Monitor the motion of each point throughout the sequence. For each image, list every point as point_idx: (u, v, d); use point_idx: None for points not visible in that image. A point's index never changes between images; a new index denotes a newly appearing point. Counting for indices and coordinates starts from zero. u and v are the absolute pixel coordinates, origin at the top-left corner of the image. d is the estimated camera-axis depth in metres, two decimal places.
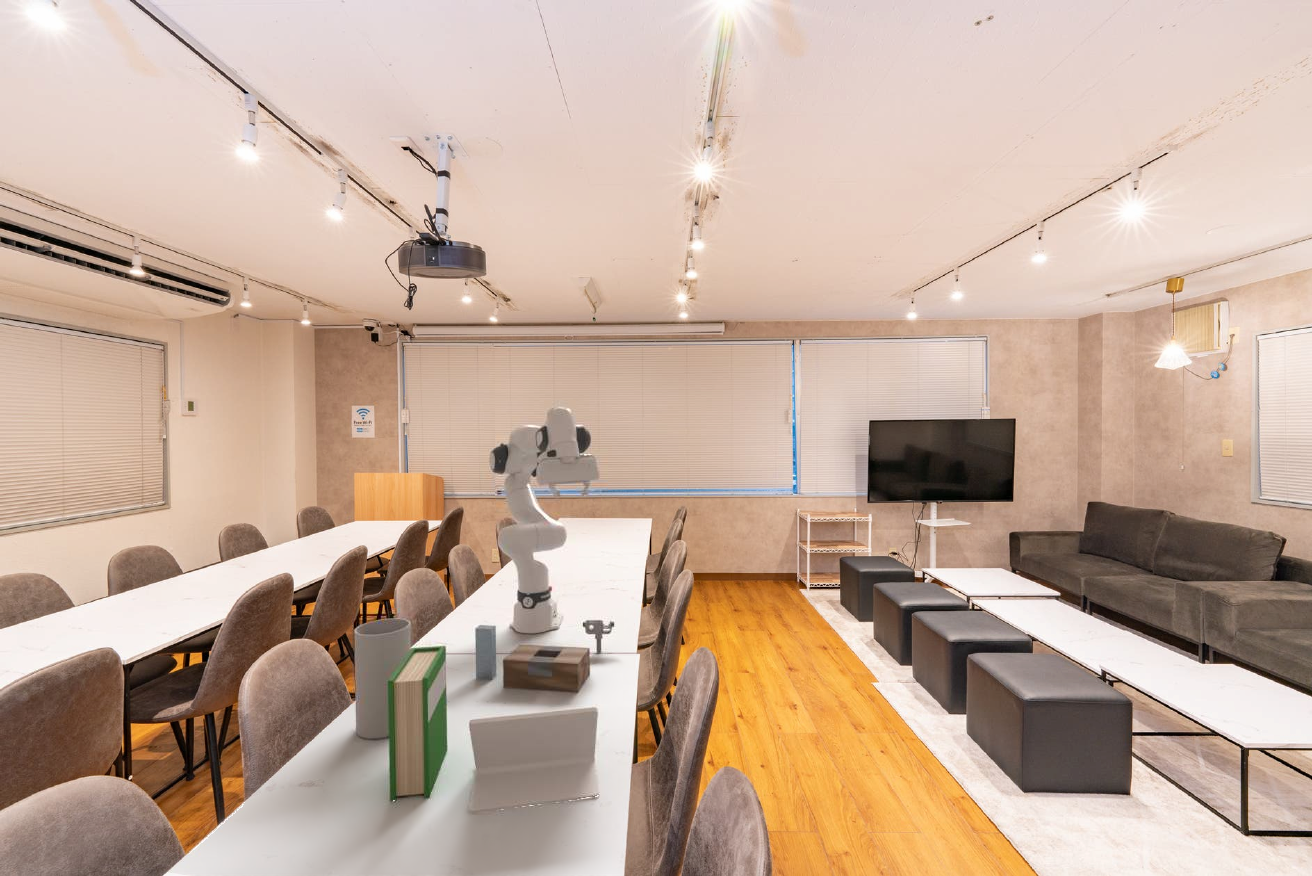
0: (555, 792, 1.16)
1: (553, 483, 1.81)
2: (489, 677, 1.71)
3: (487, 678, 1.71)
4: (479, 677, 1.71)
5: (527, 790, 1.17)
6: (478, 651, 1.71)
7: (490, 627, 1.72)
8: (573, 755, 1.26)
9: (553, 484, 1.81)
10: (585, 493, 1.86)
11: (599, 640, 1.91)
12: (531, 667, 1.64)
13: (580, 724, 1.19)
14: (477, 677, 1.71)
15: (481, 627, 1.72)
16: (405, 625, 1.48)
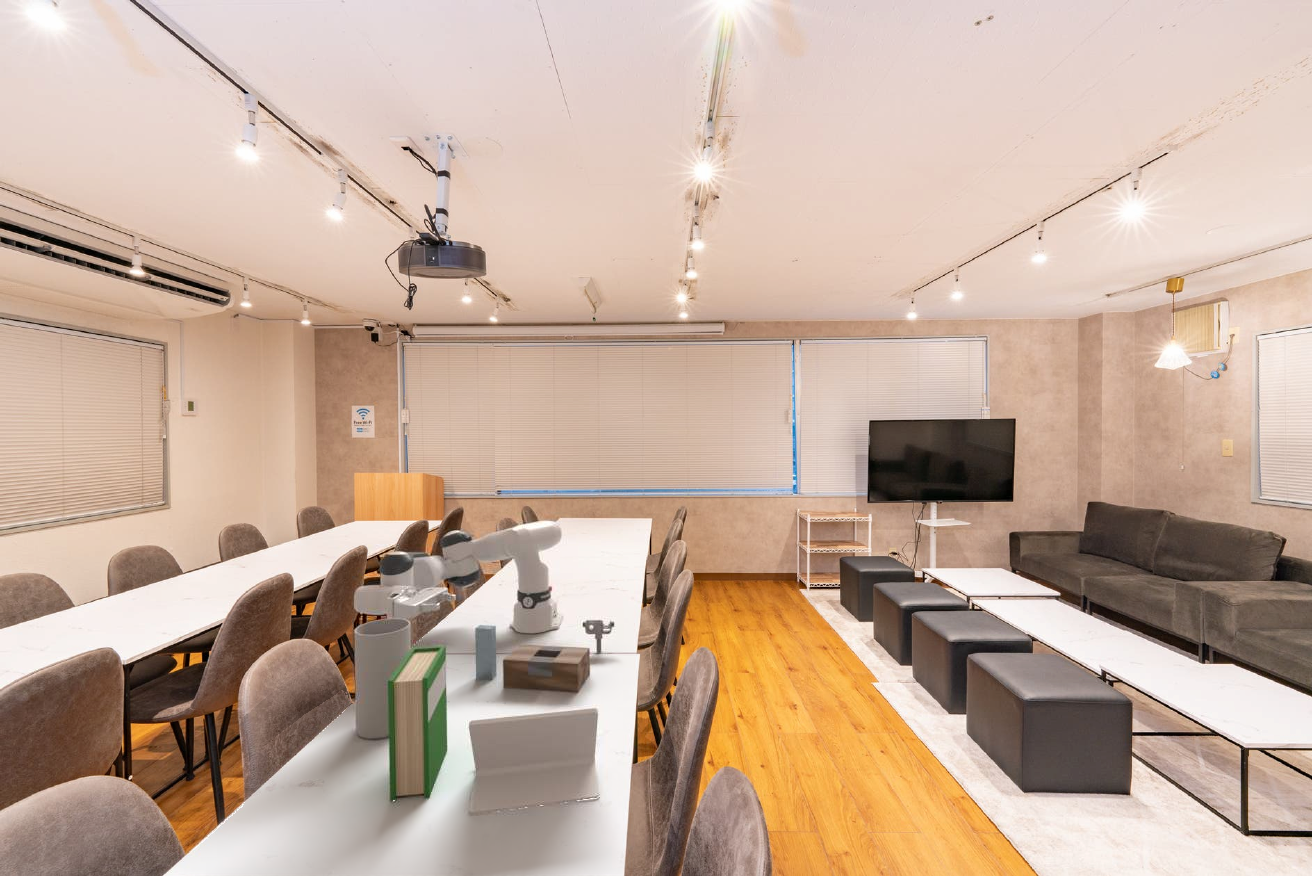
0: (555, 793, 1.16)
1: (422, 604, 1.69)
2: (489, 677, 1.71)
3: (487, 678, 1.71)
4: (479, 677, 1.71)
5: (527, 791, 1.16)
6: (478, 651, 1.71)
7: (490, 627, 1.72)
8: (573, 756, 1.25)
9: (423, 604, 1.69)
10: (452, 595, 1.79)
11: (599, 640, 1.91)
12: (531, 667, 1.64)
13: (580, 725, 1.19)
14: (477, 677, 1.71)
15: (481, 627, 1.72)
16: (405, 625, 1.48)
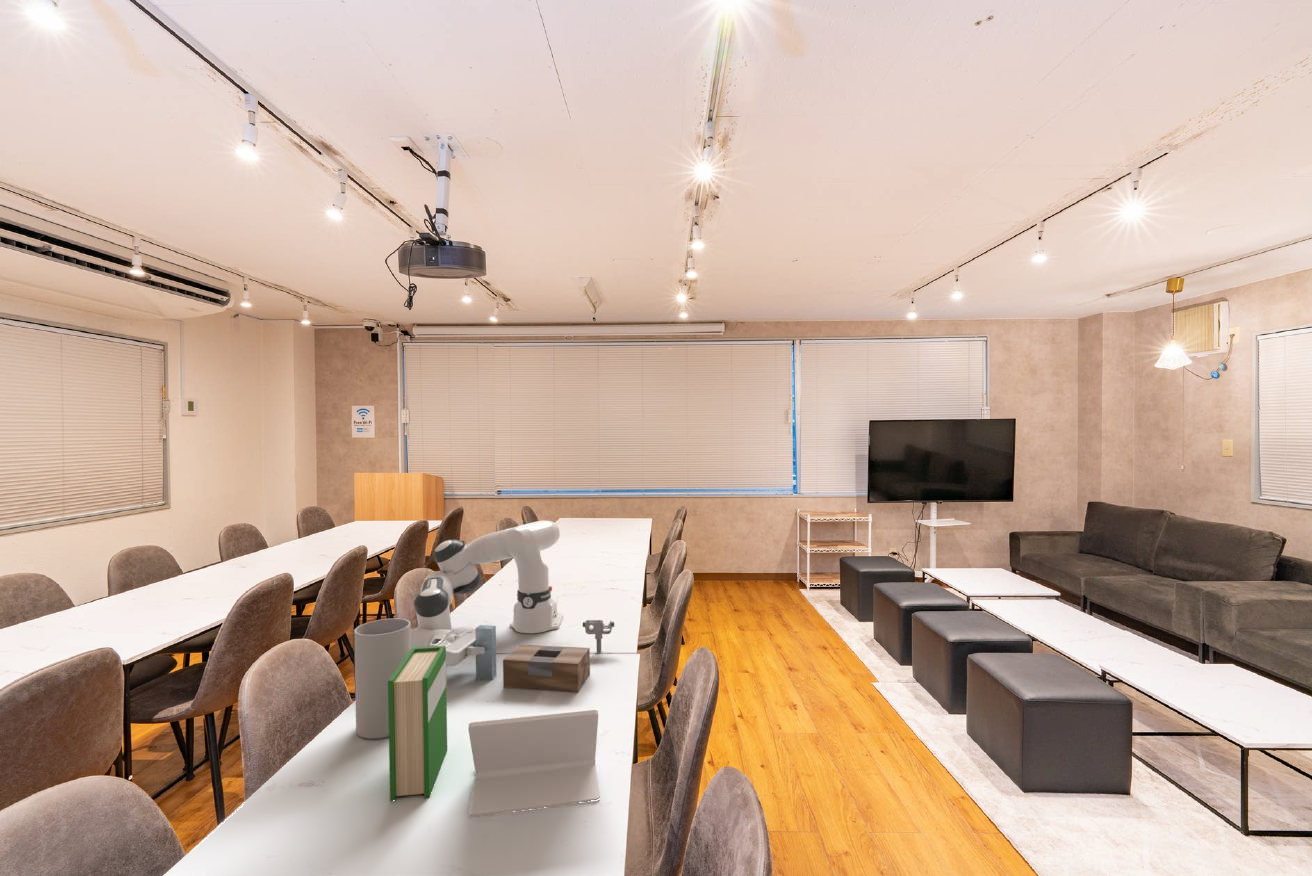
0: (555, 795, 1.15)
1: (469, 646, 1.70)
2: (489, 677, 1.71)
3: (487, 678, 1.71)
4: (479, 677, 1.71)
5: (527, 794, 1.16)
6: None
7: (490, 627, 1.72)
8: (573, 758, 1.25)
9: (470, 647, 1.70)
10: None
11: (599, 640, 1.91)
12: (531, 667, 1.64)
13: (580, 727, 1.18)
14: (477, 677, 1.71)
15: (481, 627, 1.72)
16: (405, 625, 1.48)
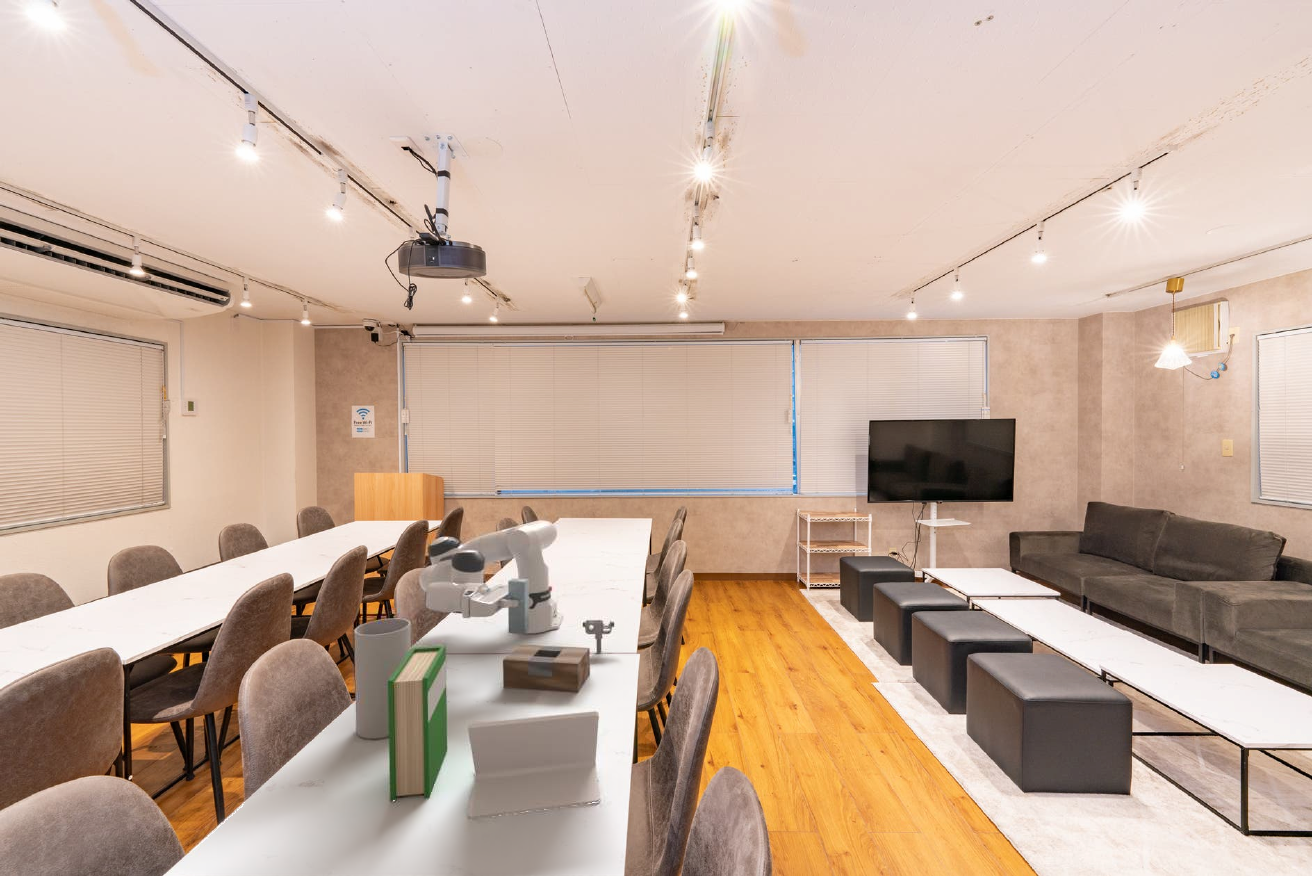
0: (555, 797, 1.15)
1: (502, 599, 1.67)
2: (522, 631, 1.68)
3: (520, 632, 1.68)
4: (512, 631, 1.68)
5: (527, 795, 1.15)
6: None
7: (523, 580, 1.69)
8: (574, 760, 1.24)
9: (503, 599, 1.66)
10: None
11: (599, 640, 1.91)
12: (531, 667, 1.64)
13: (581, 728, 1.17)
14: (509, 631, 1.68)
15: (514, 580, 1.69)
16: (405, 625, 1.48)
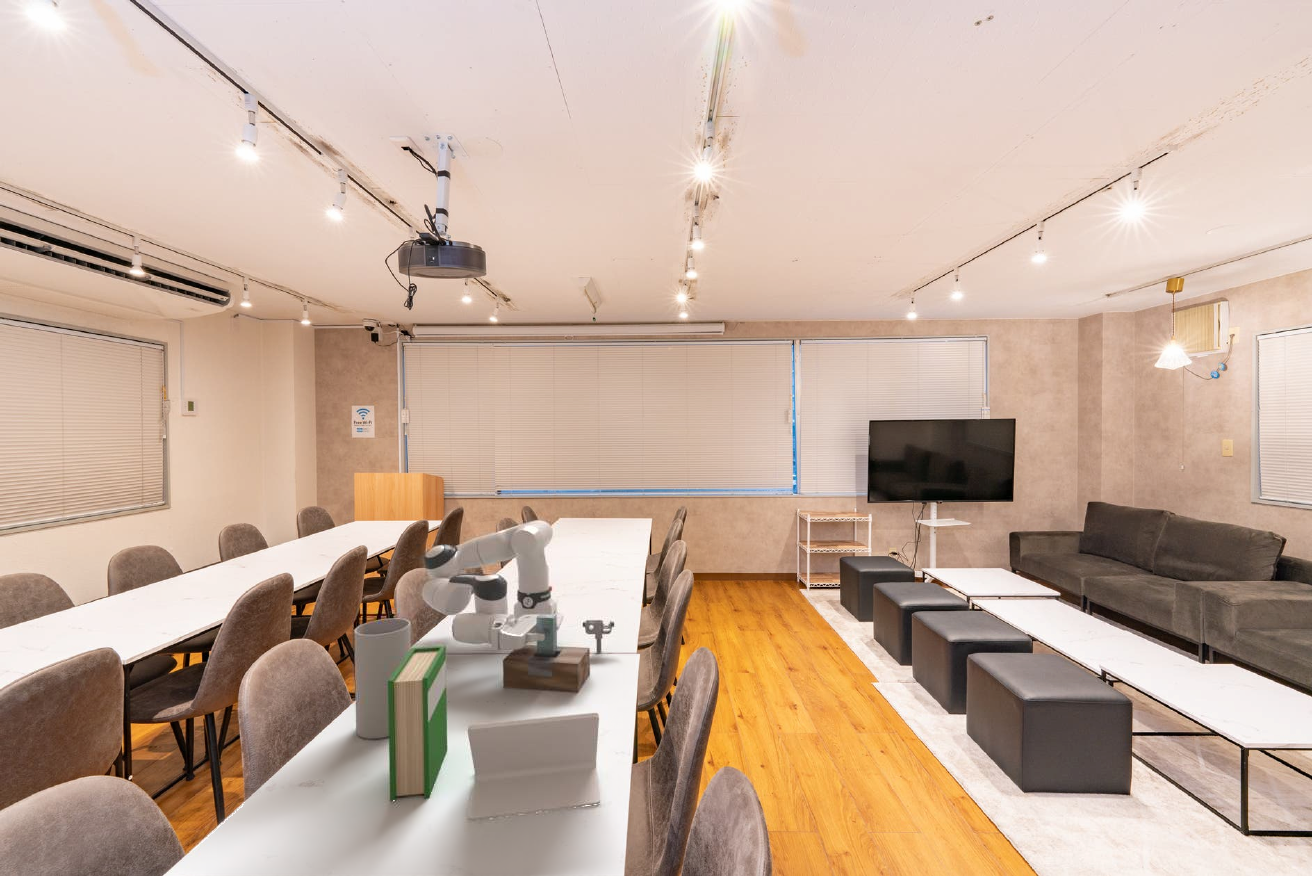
0: (556, 799, 1.14)
1: (528, 633, 1.65)
2: None
3: None
4: None
5: (527, 797, 1.15)
6: None
7: (551, 616, 1.69)
8: (574, 761, 1.24)
9: (529, 633, 1.65)
10: None
11: (599, 640, 1.91)
12: (531, 667, 1.64)
13: (581, 730, 1.17)
14: None
15: (542, 616, 1.69)
16: (405, 625, 1.48)
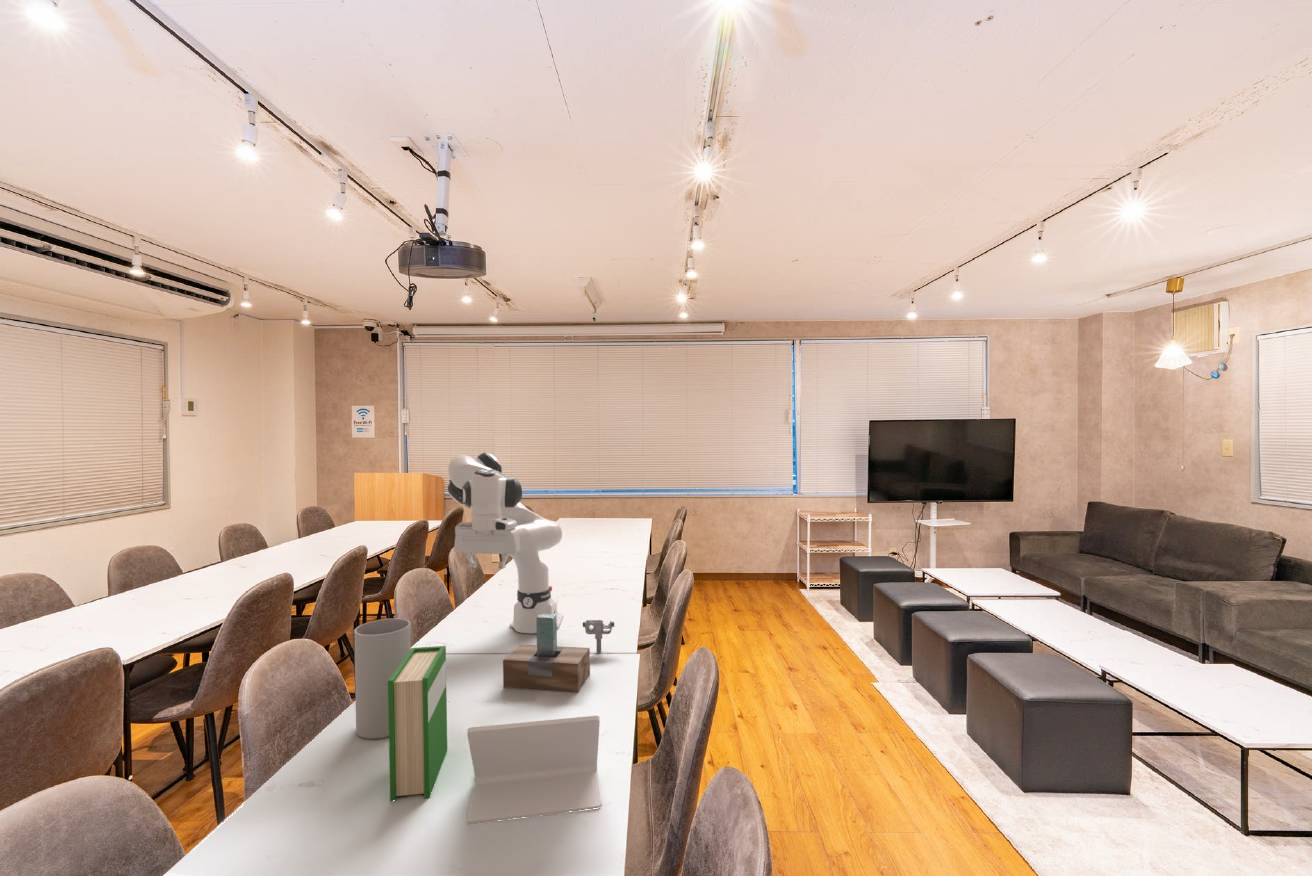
0: (556, 802, 1.13)
1: None
2: None
3: None
4: None
5: (527, 800, 1.14)
6: (539, 640, 1.68)
7: (551, 616, 1.69)
8: (575, 764, 1.23)
9: None
10: None
11: (599, 640, 1.91)
12: (531, 667, 1.64)
13: (581, 733, 1.16)
14: None
15: (542, 616, 1.69)
16: (405, 625, 1.48)
